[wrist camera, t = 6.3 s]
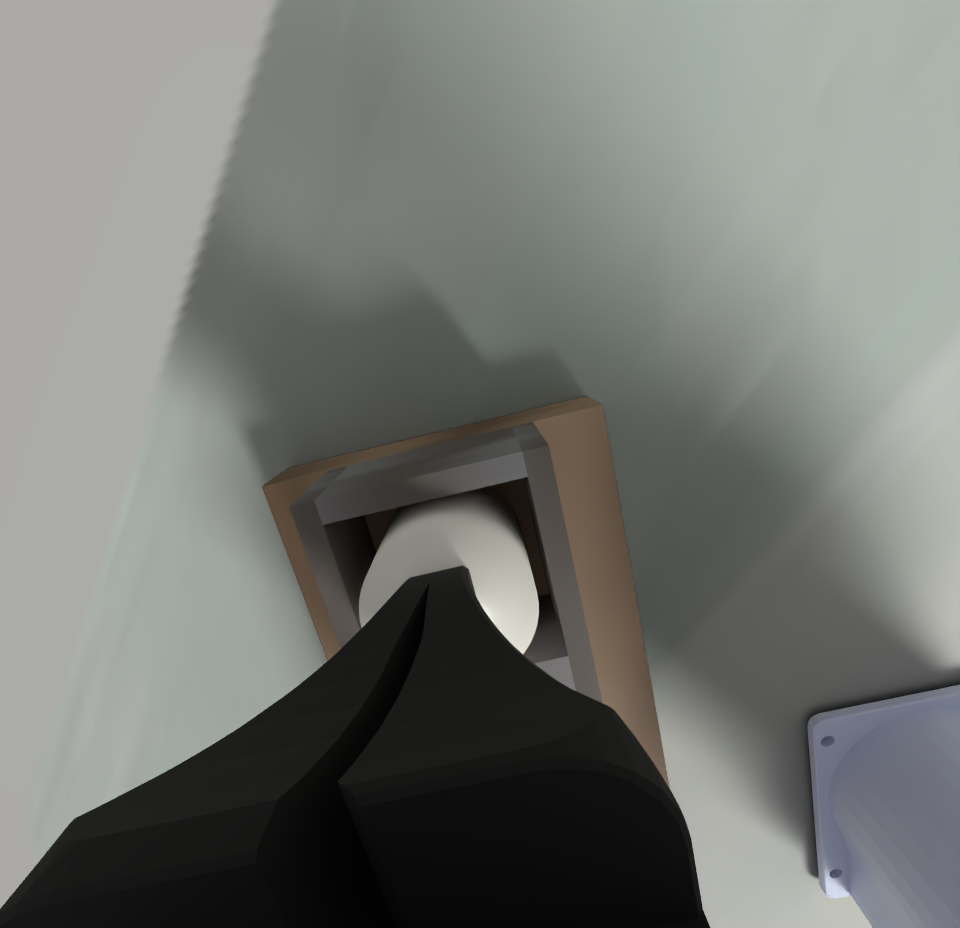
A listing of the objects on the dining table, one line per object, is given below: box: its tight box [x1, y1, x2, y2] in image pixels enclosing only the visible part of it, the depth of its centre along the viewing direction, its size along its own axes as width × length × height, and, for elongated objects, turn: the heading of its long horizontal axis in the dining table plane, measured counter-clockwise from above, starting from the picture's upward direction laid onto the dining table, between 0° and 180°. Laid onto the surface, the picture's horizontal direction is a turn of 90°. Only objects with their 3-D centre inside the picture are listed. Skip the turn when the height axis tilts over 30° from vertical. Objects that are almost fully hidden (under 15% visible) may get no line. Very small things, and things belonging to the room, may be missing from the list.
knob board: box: [262, 396, 670, 789], centre depth 15 cm, size 10×18×5 cm, turn 14°
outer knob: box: [359, 486, 539, 654], centre depth 12 cm, size 4×4×4 cm
